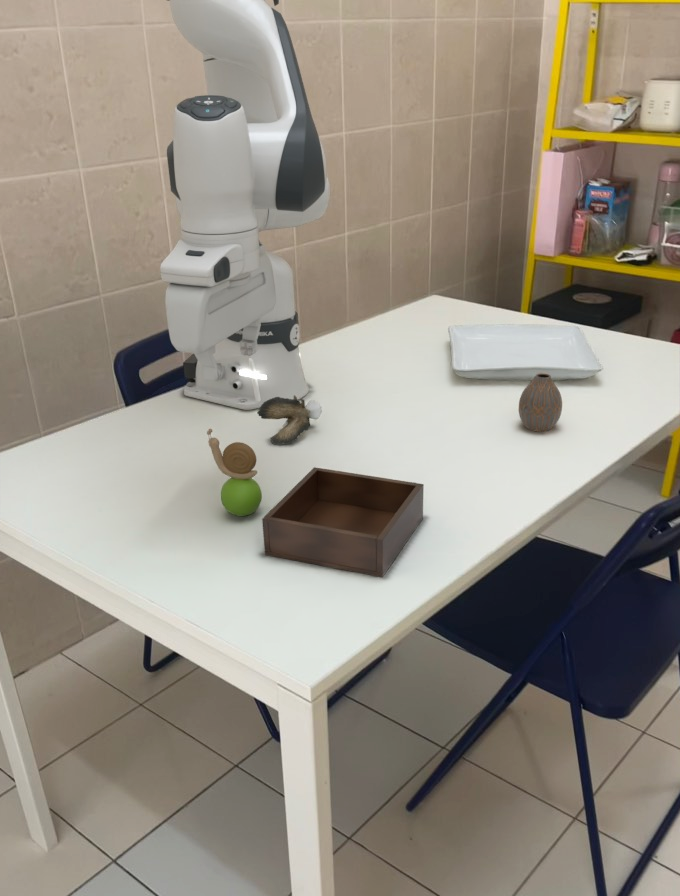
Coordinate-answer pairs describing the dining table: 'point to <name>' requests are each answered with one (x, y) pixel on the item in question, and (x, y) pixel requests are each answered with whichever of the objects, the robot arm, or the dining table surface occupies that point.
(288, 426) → the eagle figurine
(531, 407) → the vase
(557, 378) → the square plate
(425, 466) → the dining table surface
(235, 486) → the snail figurine
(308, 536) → the crate
